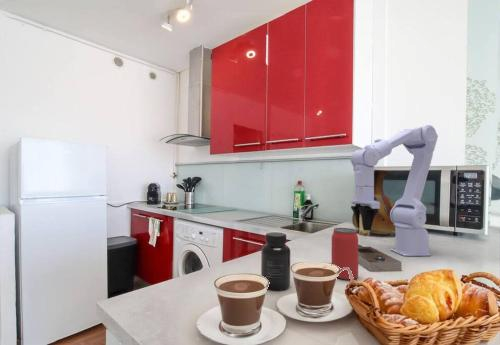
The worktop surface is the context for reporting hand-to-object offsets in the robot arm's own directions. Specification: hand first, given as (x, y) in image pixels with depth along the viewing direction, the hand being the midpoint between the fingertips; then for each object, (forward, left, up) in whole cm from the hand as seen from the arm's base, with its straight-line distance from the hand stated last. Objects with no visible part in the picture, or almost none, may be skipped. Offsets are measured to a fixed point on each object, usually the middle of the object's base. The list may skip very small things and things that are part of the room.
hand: (364, 228), depth 86 cm
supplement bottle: (+32, +20, -10) cm, 39 cm away
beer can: (+13, +15, -10) cm, 22 cm away
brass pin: (0, 0, -2) cm, 2 cm away
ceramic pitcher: (-25, -38, -10) cm, 46 cm away
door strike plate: (0, 0, -9) cm, 9 cm away
